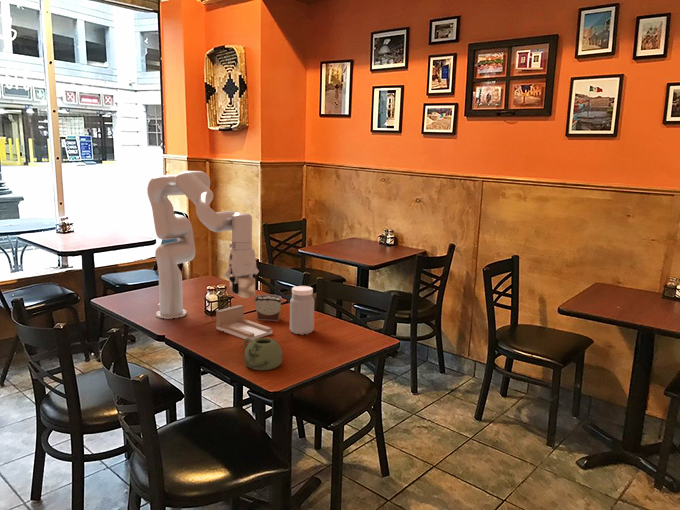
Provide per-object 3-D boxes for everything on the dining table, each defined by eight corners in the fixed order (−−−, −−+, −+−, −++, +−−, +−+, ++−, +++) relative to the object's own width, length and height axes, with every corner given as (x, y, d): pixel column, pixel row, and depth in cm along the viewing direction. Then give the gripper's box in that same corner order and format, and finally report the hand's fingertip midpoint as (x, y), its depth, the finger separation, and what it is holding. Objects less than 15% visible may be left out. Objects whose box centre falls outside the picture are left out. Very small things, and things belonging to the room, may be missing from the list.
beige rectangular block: (243, 298, 204) (243, 280, 202) (229, 291, 212) (229, 274, 210) (255, 296, 207) (255, 278, 205) (240, 290, 215) (240, 273, 214)
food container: (285, 316, 236) (285, 294, 234) (282, 321, 230) (282, 298, 228) (257, 315, 237) (257, 293, 235) (254, 319, 231) (254, 296, 229)
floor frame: (216, 328, 217) (216, 310, 216) (239, 322, 226) (239, 304, 225) (249, 340, 205) (249, 321, 203) (272, 333, 214) (272, 315, 212)
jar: (285, 333, 214) (285, 289, 211) (295, 326, 223) (296, 284, 220) (307, 336, 211) (308, 292, 208) (317, 329, 220) (318, 286, 217)
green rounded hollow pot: (290, 364, 184) (290, 340, 182) (263, 375, 173) (263, 350, 172) (257, 352, 193) (257, 329, 191) (229, 363, 183) (229, 338, 181)
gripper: (227, 249, 197) (227, 297, 201) (266, 245, 209) (265, 290, 212) (217, 246, 203) (217, 293, 206) (255, 242, 214) (255, 286, 217)
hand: (242, 291), depth 209 cm, fingers closed on beige rectangular block, 5 cm apart
